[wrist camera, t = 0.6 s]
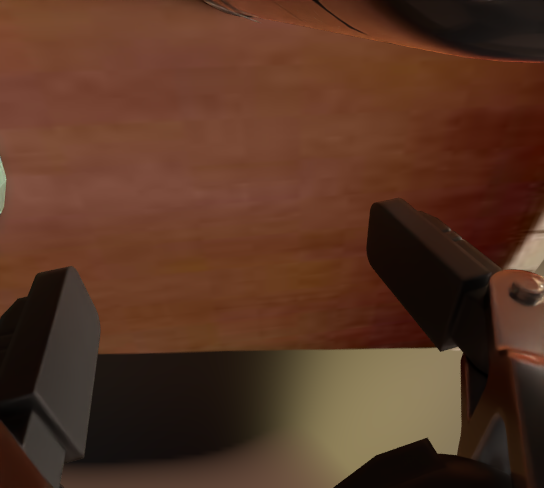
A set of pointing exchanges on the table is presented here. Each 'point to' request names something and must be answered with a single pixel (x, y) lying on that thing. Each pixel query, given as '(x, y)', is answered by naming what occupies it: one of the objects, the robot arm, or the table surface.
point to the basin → (2, 186)
